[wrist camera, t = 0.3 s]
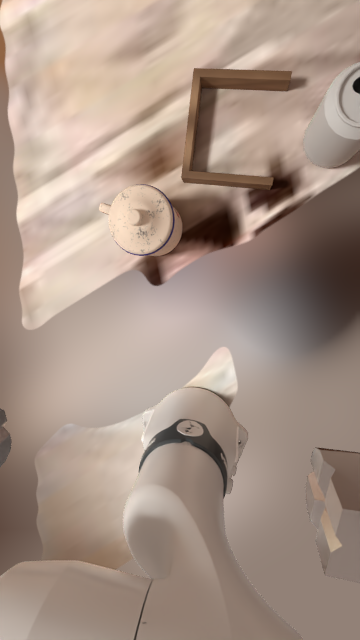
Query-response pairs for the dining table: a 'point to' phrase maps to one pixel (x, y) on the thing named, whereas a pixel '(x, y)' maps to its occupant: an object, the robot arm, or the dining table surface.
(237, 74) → the frame
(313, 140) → the can
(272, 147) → the dining table surface
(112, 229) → the teacup with lid
